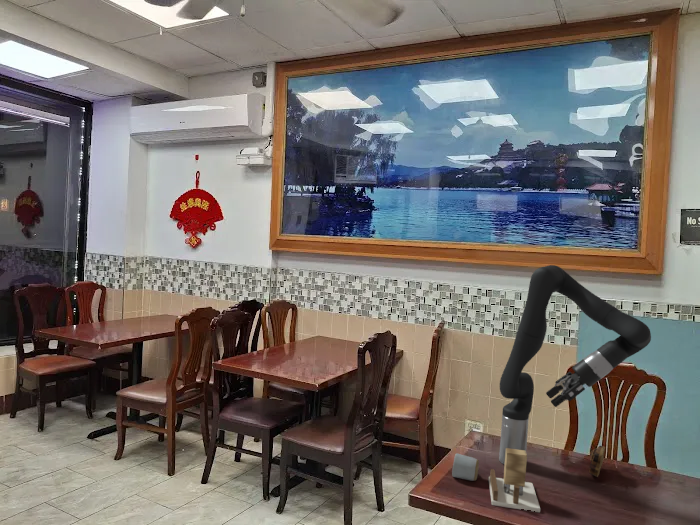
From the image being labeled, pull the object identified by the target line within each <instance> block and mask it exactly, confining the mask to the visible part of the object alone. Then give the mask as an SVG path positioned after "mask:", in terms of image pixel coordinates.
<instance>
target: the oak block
mask: <svg viewBox="0 0 700 525" xmlns="http://www.w3.org/2000/svg"><path fill="white" fill-rule="evenodd" d="M527 459H528V454H527V450H526V451H525V450H518V449H510V448H506V452H505V465H504V469H503V479H504V483H505V484H509V485H516V486H523V487H525V482H526V473H527V463H528V462H527Z"/></svg>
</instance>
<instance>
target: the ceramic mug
mask: <svg viewBox="0 0 700 525" xmlns="http://www.w3.org/2000/svg"><path fill="white" fill-rule="evenodd" d="M479 466H480V461H479V460H478V459H477V458H475V457H472V456H468V455H465V454H460V453H458V452H456V453H455V454H454V457H453V464H452V471H451V476H452V477H454V478H456V479H462V480H466V481H471V482H472V481H474V482H475V481H477V479H478V473H479Z"/></svg>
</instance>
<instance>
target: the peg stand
mask: <svg viewBox="0 0 700 525" xmlns="http://www.w3.org/2000/svg"><path fill="white" fill-rule="evenodd" d="M496 482H497V488H498V499H497V501H495V500H493V494H492V487H491V480H490V476H488V486H489V494H490V501H491V505H492V506H496V507H503V508H509V509H515V510H521V509H524V510H523V511H527V510H531V511H530V512H534V511H535V512H534V513H541V507H540V503H539V500H538V497H537V495H536V491H535V487H534V485H533V482H529V481H525V487H523V495H522V496H520V495H519V500H518V504H514V503H513V493H514V485H510V493H509V494H507V493H505V492H504V478H502V477H496Z"/></svg>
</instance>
